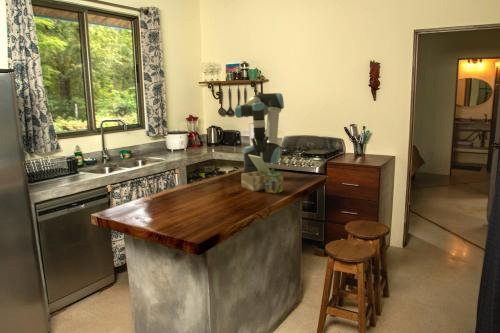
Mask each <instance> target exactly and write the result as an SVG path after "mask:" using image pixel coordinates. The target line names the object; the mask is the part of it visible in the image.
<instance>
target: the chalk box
mask: <svg viewBox="0 0 500 333" xmlns="http://www.w3.org/2000/svg"><path fill="white" fill-rule="evenodd" d="M275 170H276V169H275V167H273V168H271V169H270V171H271V172H270V173H267V174H265V189H264V190H265V193H268V194H280V193H282V192H284V173H283V172H278V171H277V172H276V171H275Z"/></svg>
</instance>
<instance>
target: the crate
mask: <svg viewBox="0 0 500 333" xmlns="http://www.w3.org/2000/svg"><path fill="white" fill-rule="evenodd" d="M265 174H267V173H265V172H260V171H257V172H250V173H244V174H242V173H241V174H240V180H241V182H240V183H241V188H243V189H244V190H245V189H246V190H248V191H251V192H257V191H262V190H265Z"/></svg>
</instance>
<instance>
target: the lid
mask: <svg viewBox="0 0 500 333" xmlns="http://www.w3.org/2000/svg"><path fill="white" fill-rule="evenodd" d="M248 156H249V157H250V159H251V160H252V162H253V163H254V165H255V166H256V168H257V169H258V171H261V172H264V173H270V172H272V171H271V169H270V168H269V167H268V165H267V163H265V162H264V161H263V159H262V158H261V157H258V156H254V155H248Z"/></svg>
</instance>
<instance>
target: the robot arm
mask: <svg viewBox="0 0 500 333" xmlns="http://www.w3.org/2000/svg"><path fill="white" fill-rule="evenodd" d="M284 108H285V103H284V97H283V94H282V93H279V92H275V93H274V92H273V93H270V92H269V93H259V94H256V95H254V96H252V97H251V98H249V99H248V101H247V102H245V103H243V104H242V105H241V104H240V105H235V107H234V115H235V117H237V118H238V117H240V118H241V117H252V121H253V122H252V124H253V129H252V130H253V137H251V138H250V141H251V143H252V145H247V146H245V147H244V149H243V160H244V161H243V165H244V167H243V170H242V173H241V174H244V173H250V172H257V171H258V169H257V168H256V166H255V165H254V163H253V162H252V160H251V159H250V157H249V156H248V155H254V156H258V157H261V158H262V159H263V161H264V162H265V164H276V163H278V162H279V161H280V159H281V155H282V154H281V153H282V150H281V147H280V145H279V143H278V136H279V135H278V134H279V131H278V130H279V119H280V118H279V117H280V113H282V110H283V109H284ZM266 116H267V118H265V117H266ZM265 119H266V120H265ZM265 126H266V127H265ZM260 172H261V171H260Z"/></svg>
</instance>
